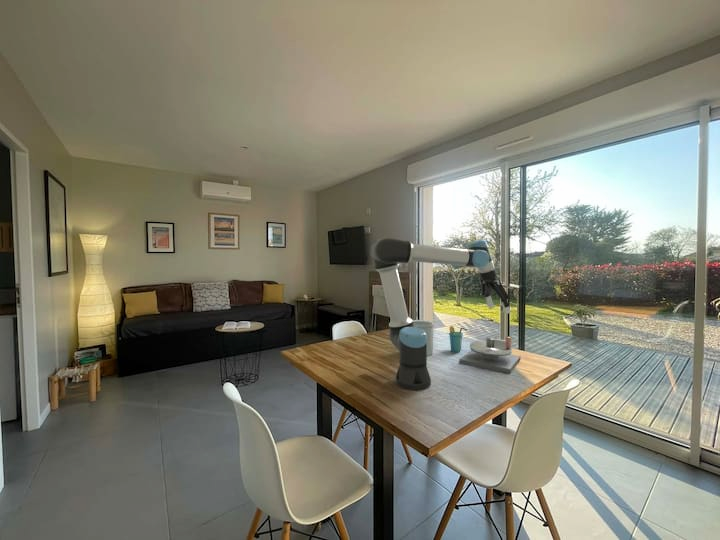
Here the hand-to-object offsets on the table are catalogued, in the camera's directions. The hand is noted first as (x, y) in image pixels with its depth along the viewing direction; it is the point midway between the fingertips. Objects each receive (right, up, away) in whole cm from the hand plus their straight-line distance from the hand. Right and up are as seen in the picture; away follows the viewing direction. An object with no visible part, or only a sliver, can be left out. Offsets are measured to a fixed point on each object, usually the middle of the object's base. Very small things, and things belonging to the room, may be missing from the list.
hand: (499, 310), depth 151 cm
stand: (-1, -28, +8) cm, 29 cm away
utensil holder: (-34, -28, +24) cm, 50 cm away
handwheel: (-1, -22, +8) cm, 23 cm away
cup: (-13, -27, +25) cm, 39 cm away
